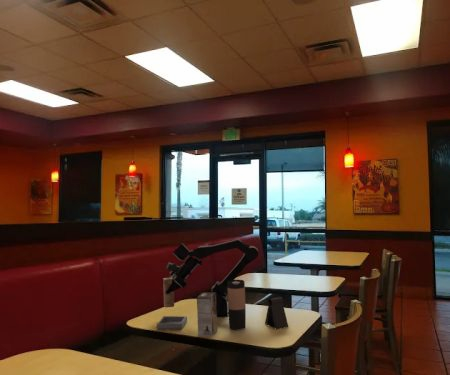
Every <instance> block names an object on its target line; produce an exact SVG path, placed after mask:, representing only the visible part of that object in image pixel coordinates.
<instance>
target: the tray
mask: <svg viewBox="0 0 450 375" xmlns="http://www.w3.org/2000/svg"><path fill="white" fill-rule="evenodd" d="M187 322H188V316H186V315H185V316H183V315H182V316H181V315H178V316H177V315H172V316H171V315H167V316H166V315H164V316H162V318H160V320H159V321H158V322H157V324H156V330H160V331H161V330H162V331H163V330H164V331H165V330H170V331H171V330H173V331H176V330H178V331H179V330H180V331H182V330H183V329H184V328H185V326H186V324H187Z"/></svg>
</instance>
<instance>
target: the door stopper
mask: <svg viewBox="0 0 450 375" xmlns="http://www.w3.org/2000/svg"><path fill="white" fill-rule="evenodd" d="M267 304H268V305H267V311H266V316H265V321H264V324H265V326H268V325H269V327H270V326H271V328H273V329H275V328H276V329H275V330H280V328H281V329H285V328H288V327H289V323H288V320H287V316H286V311H285V307H284V299H283V297H282V296H278V297H273V298H272V297H271V298H268V300H267ZM284 327H285V328H284Z"/></svg>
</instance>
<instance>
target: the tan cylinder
mask: <svg viewBox="0 0 450 375" xmlns="http://www.w3.org/2000/svg"><path fill="white" fill-rule="evenodd" d="M172 279H173V278H170V277H164V278H162V280H163V281H162V282H163V285H162V286H163V306H164V308H174V307H175V291H173V292H171V293H169V294H166V291H167V289H168V288H169V286H170V285H171V283H172Z"/></svg>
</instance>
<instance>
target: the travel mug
mask: <svg viewBox="0 0 450 375" xmlns="http://www.w3.org/2000/svg"><path fill="white" fill-rule="evenodd" d="M245 284H246V283H245V280H243V279H234V280H230V281H228V287H227V301H228V325H229V326H228V327H229V329H230V330H233V331H241V330H244V329H246V324H247V322H246V318H247V317H246V313H247V312H246V306H247V305H246V287H245V286H246V285H245Z"/></svg>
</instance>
